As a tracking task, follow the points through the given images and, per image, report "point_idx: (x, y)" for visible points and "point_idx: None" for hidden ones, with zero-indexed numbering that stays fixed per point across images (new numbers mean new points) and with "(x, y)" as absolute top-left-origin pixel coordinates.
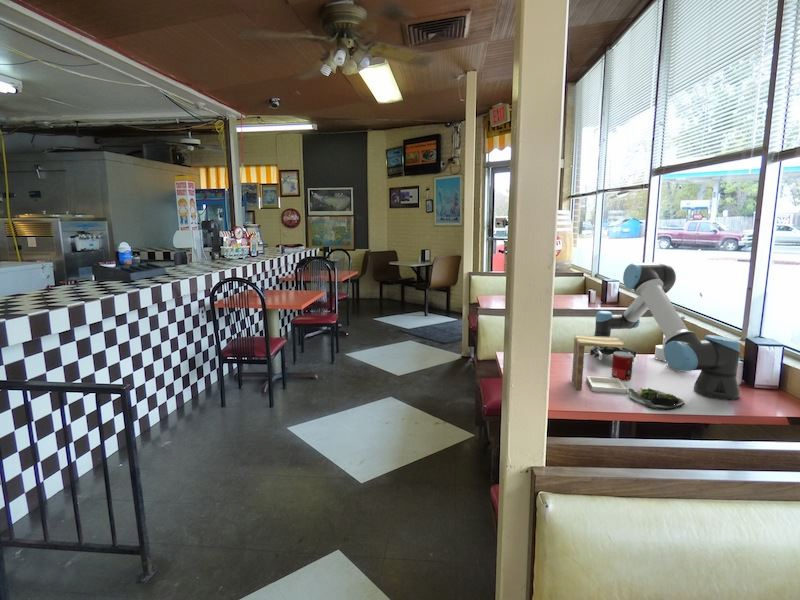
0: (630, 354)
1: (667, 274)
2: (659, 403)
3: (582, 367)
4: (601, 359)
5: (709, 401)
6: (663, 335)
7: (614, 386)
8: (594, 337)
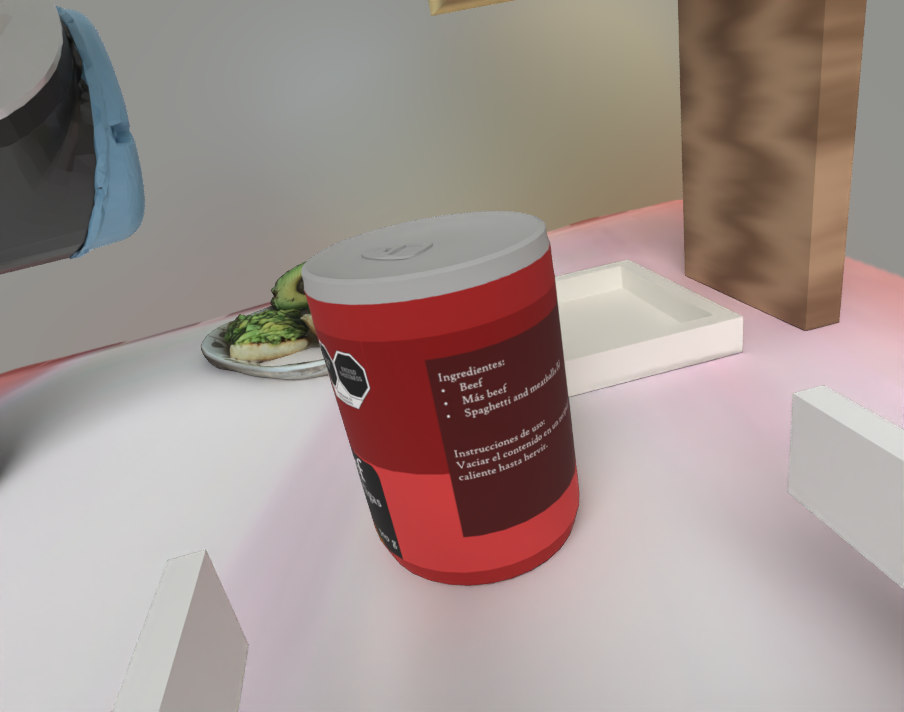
0: (326, 271)
1: None
2: None
3: (684, 131)
4: (797, 478)
5: (40, 416)
6: None
7: None
8: None
